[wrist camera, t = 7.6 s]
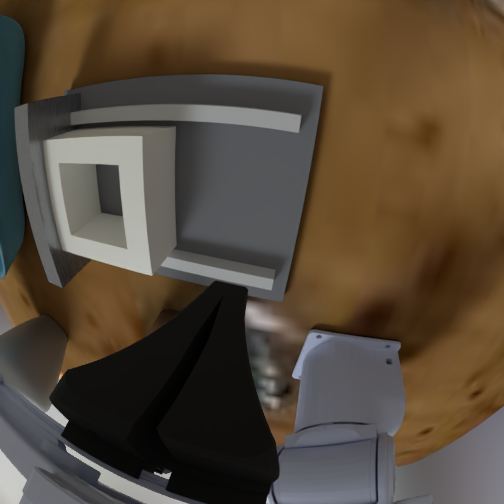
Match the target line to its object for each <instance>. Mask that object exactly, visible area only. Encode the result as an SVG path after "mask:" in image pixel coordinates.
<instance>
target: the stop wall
mask: <svg viewBox="0 0 504 504" xmlns="http://www.w3.org/2000/svg"><path fill="white" fill-rule="evenodd" d="M77 111H81V93H77V94H71V95H65V96H59V97H54V98H49V99H44V100H39V101H35V102H31V103H27V104H24V105H21V106H18V107H15V133H16V145H17V155H18V163H19V170H20V177H21V183H22V188H23V194H24V199H25V203H26V208H27V212H28V216H29V220H30V224H31V228H32V232H33V235H34V239H35V242H36V246H37V249H38V252H39V255H40V258H41V261H42V264H43V267H44V270H45V273H46V275H47V278H48V281H49V282H50V283H52V284H55V285H57V286H59V287H61V288H63V287H64V286H65V285H66V284H67V283H68V282H69V281H70V280H71V279H72V278H73V277H74V276H75V275H76V274H77V273H78V272H79V271H80V270H81V269H82V268H83V267H84V266H85V265H86V264H88V263H89V262H90V261H91V260H92V259H90V258H87V257H83V256H80V255H77V254H73V253H70V252H67V251H64V250H62V247H61V243H60V239H59V235H58V231H57V227H56V223H55V218H54V214H53V209H52V204H51V198H50V193H49V187H48V180H47V173H46V166H45V157H44V147H43V140H46V139H49V138H52V137H55V136H58V135H61V134H64V133H67V132H70V131H74V130H77V129H81V124H76V125H71V113H72V112H77Z"/></svg>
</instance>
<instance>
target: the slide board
mask: <svg viewBox="0 0 504 504" xmlns="http://www.w3.org/2000/svg"><path fill="white" fill-rule="evenodd" d="M77 93H81V111H77V112H72V113H71V125H76V124H81V129H82V128H95V127H113V126H176V142H175V216H176V242H177V246H176V247H175V248H174V249H173V251H172V252H171V253H170V254H169V256H168V257H167V258H166V259H165V261H164V262H163V263H162V264H161V266H160V267H159V268H158V269H157V271H156V272H155V274H159V275H163V276H167V277H171V278H175V279H179V280H183V281H187V282H191V283H196V284H200V285H204V286H209V285H210V284H211V283H212V282H214V281H215V280H217V281H222V282H226V283H230V284H235V285H239V286H244V287H246V288H247V289H248V295H249V296H254V297H259V298H264V299H269V300H274V301H279V302H282V301H283V297H284V292H285V288H286V284H287V280H288V275H289V271H290V266H291V262H292V257H293V253H294V248H295V243H296V239H297V234H298V229H299V224H300V219H301V214H302V209H303V204H304V199H305V194H306V189H307V183H308V178H309V173H310V167H311V161H312V156H313V150H314V144H315V138H316V132H317V126H318V120H319V113H320V107H321V100H322V93H323V86H320V85H315V84H309V83H303V82H297V81H290V80H283V79H275V78H266V77H255V76H241V75H217V74H190V75H166V76H152V77H142V78H133V79H125V80H118V81H111V82H105V83H99V84H94V85H89V86H84V87H80V88H75V89H71V90H67V91H64V96H65V95H71V94H77ZM96 173H97V183H98V192H99V200H100V207H101V213H106V214H111V215H117V216H123V211H122V202H121V191H120V179H119V165H107V164H96Z"/></svg>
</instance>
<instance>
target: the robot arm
mask: <svg viewBox="0 0 504 504" xmlns="http://www.w3.org/2000/svg"><path fill="white" fill-rule="evenodd" d="M247 296H248V289H247V288H246V287H244V286H239V285H235V284H230V283H226V282H222V281H217V280H215V281H214V282H212V283H211V284H210V285H209V286H208V287H207V288H206V289H205V290H204V291H203V292H202V293H201V294H200V295H199V296H198V297H197V298H196V299H195V300H194V301H192V302H191V303H190V304H189V305H188V306H187V307H186V308H184V309H183V310H182V311H181V312H180V313H178V314H177V315H176V316H174V317H173V318H172V319H171V320H169V321H168V322H167V323H165V324H164V325H163V326H161V327H160V328H158V329H157V330H155V331H154V332H152V333H151V334H149V335H148V336H146V337H144V338H143V339H141V340H139V341H137V342H136V343H134V344H132V345H130V346H128V347H126V348H124V349H122V350H120V351H118V352H116V353H114V354H111V355H109V356H107V357H104V358H102V359H100V360H97V361H94V362H92V363H88V364H85V365H82V366H79V367H76V368H72V369H69V370H67V371H66V372H65V374H64V375H63V376H62V377H61V379H60V380H59V382H58V384H57V385H56V387H55V388H54V390H53V391H52V393H51V395H50V396H49V399H50V401H51V403H52V404H53V405H54V406H55V407H56V408H57V409H58V410H59V411H60V412H61V413H62V414H63V415H64V416H65V417H66V418H67V419H68V420H69V421H68V423H67V425H66V427H64V426H62V425H61V424H59V423H58V422H56V421H55V420H54V419H52V418H51V417H49V416H48V415H47V414H45V413H44V412H43V411H41V410H40V409H39V408H38V407H36V406H35V405H34V404H33V403H31V402H30V401H29V400H28V399H26V398H25V397H24V396H23V395H22V394H21V393H19V392H18V391H17V390H16V389H15V388H14V387H13V386H12V385H10V384H9V383H8V382H7V381H6V380H5V379H4V378H3V376H2V375H1V374H0V449H1V451H2V452H3V453H4V454H5V455H6V457H7V458H8V459H9V460H10V461H11V463H12V464H13V465H14V466H15V467H16V468H17V469H18V471H19V472H20V473H21V474H22V475H23V476H24V477H25V478H26V479H27V482H26V484H25V486H24V488H23V493H24V494H23V496H22V499H21V501H20V503H19V504H145V503H143V502H140V501H138V500H136V499H133V498H131V497H129V496H127V495H125V494H122V493H120V492H118V491H116V490H114V489H112V488H110V487H108V486H106V485H104V484H102V483H101V482H99V481H98V479H99V477H100V475H101V474H100V472H99V471H97V470H95V469H94V468H92V467H90V466H88V465H87V464H85V463H84V462H82V461H80V460H79V459H77V458H76V457H74V456H72V455H71V454H69V453H68V452H67V451H66V447H65V445H67V446H68V447H70V448H72V449H73V450H75V451H76V452H78V453H79V454H81V455H82V456H84V457H86V458H87V459H89V460H91V461H93V462H94V463H96V464H98V465H99V466H101V467H103V468H105V469H107V470H109V471H111V472H113V473H114V474H116V475H118V476H120V477H123V478H125V479H127V480H129V481H131V482H133V483H136V484H138V485H140V486H143V487H145V488H147V489H150V490H152V491H154V492H157V493H160V494H162V495H165V496H168V497H171V498H173V499H177V500H179V501H182V502H186V503H189V504H266V501H267V503H268V504H433V495H432V494H428V495H424V496H419V497H414V498H409V499H404V500H400V501H396V502H393V496H394V492H395V447H394V439H393V437H392V436H393V435H394V434H395V433H396V432H397V431H398V429H399V427H400V426H401V423H402V421H403V417H404V413H405V405H406V399H405V391H404V384H403V378H402V372H401V366H400V361H399V355H398V350H399V349H400V348H401V343H400V342H398V341H390V340H382V339H374V338H366V337H359V336H352V335H345V334H339V333H333V332H326V331H320V330H310V331H309V332H308V335H307V338H306V340H305V343H304V345H303V348H302V351H301V353H300V356H299V358H298V361H297V363H296V366H295V368H294V370H293V373H292V377H293V378H296V379H301V381H300V390H299V398H298V406H297V414H296V421H295V428H294V434H290V435H286V438H285V444H284V445H280V446H278V447H276V442H275V440H274V437H273V435H272V433H271V431H270V428H269V426H268V424H267V421H266V418H265V416H264V413H263V410H262V408H261V405H260V401H259V398H258V395H257V392H256V388H255V385H254V381H253V377H252V373H251V368H250V363H249V358H248V352H247V345H246V336H245V319H244V318H245V311H246V303H247ZM318 335H320V336H318ZM154 472H156V473H159V474H163V473H165V474H167V473H170V472H172V473H171V476H170V479H169V480H168V479H165V478H163V477H160V476H158V475H155V474H154Z"/></svg>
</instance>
